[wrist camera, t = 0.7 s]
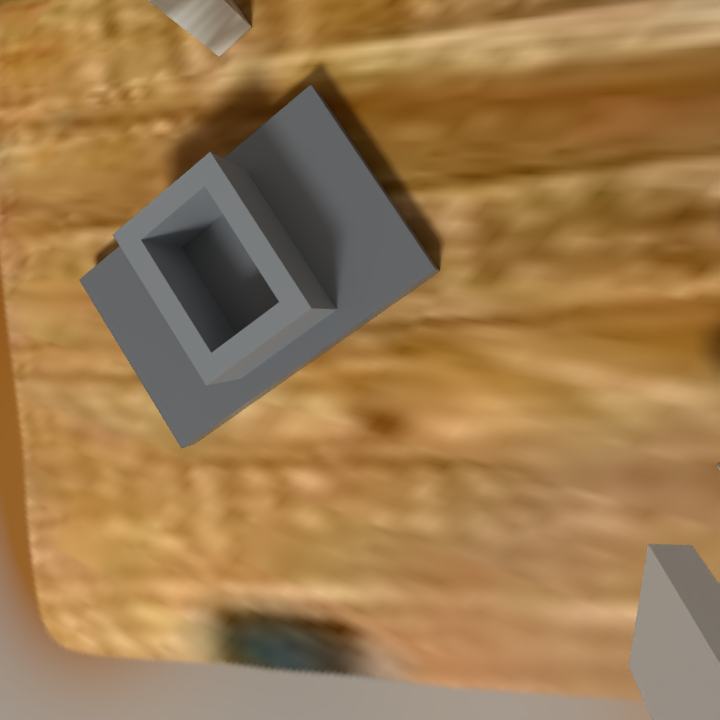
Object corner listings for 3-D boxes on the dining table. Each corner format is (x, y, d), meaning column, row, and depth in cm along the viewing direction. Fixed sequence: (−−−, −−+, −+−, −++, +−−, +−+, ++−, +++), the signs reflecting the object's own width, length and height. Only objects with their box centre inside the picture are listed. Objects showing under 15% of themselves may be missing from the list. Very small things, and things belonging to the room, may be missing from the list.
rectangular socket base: (319, 93, 37) (281, 56, 32) (439, 271, 36) (420, 263, 31) (95, 281, 42) (29, 275, 37) (194, 443, 41) (141, 462, 35)
